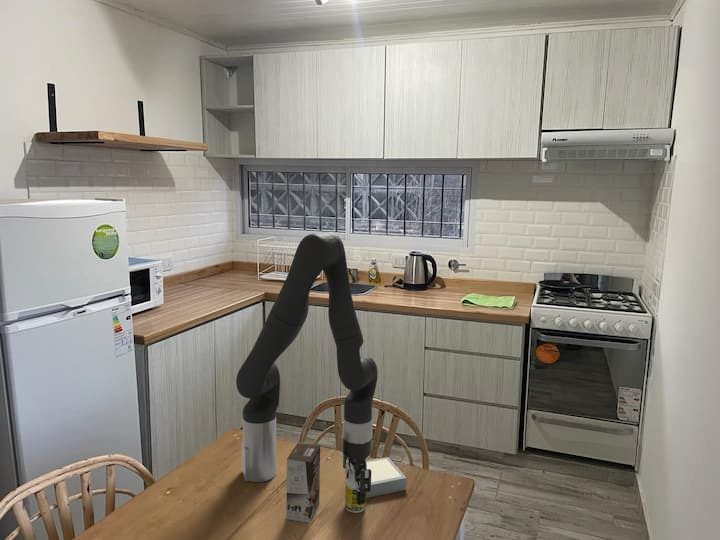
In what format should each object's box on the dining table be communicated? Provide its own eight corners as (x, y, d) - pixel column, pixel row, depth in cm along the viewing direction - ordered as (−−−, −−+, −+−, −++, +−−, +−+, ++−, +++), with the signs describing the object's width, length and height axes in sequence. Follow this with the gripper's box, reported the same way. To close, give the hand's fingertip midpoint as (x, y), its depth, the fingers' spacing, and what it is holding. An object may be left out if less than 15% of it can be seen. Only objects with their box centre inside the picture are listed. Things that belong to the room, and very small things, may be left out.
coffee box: (310, 523, 132) (311, 462, 129) (285, 519, 133) (285, 458, 130) (320, 502, 141) (321, 444, 138) (297, 498, 142) (297, 441, 139)
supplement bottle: (350, 515, 135) (351, 479, 134) (341, 504, 140) (342, 469, 138) (369, 510, 138) (370, 474, 136) (359, 499, 142) (360, 464, 141)
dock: (365, 498, 143) (365, 485, 142) (349, 475, 154) (349, 463, 153) (406, 489, 147) (406, 477, 147) (387, 468, 158) (388, 456, 158)
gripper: (334, 425, 141) (332, 483, 143) (353, 450, 128) (351, 514, 130) (360, 421, 144) (359, 478, 146) (382, 445, 130) (380, 508, 133)
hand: (355, 495), depth 138 cm, fingers open, 7 cm apart
